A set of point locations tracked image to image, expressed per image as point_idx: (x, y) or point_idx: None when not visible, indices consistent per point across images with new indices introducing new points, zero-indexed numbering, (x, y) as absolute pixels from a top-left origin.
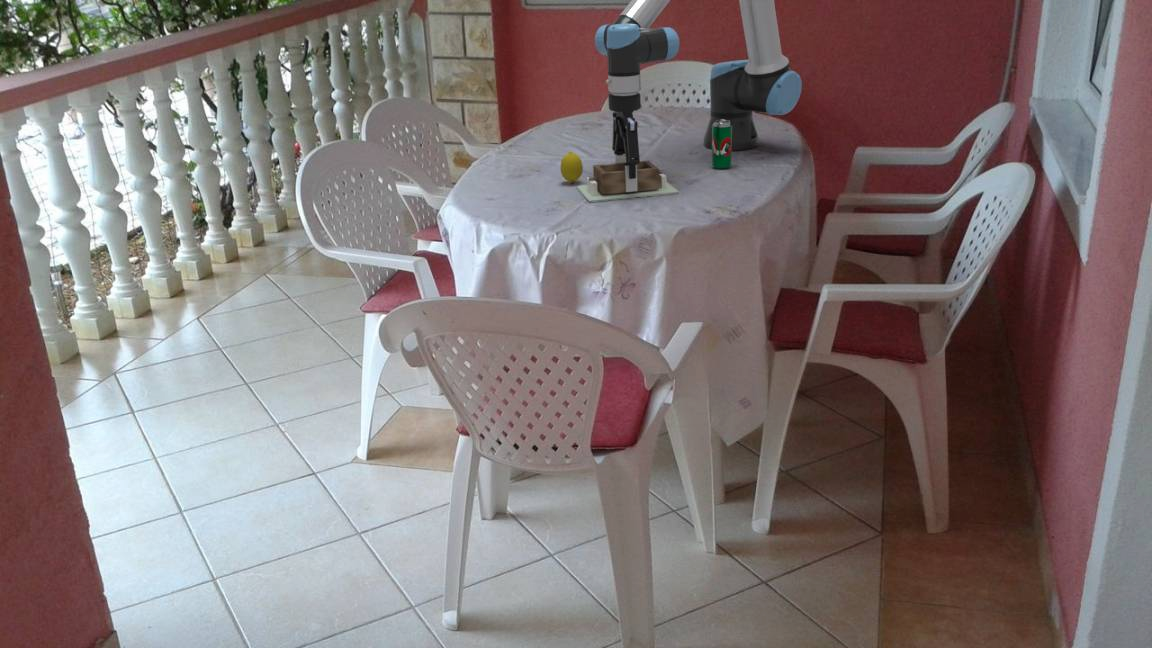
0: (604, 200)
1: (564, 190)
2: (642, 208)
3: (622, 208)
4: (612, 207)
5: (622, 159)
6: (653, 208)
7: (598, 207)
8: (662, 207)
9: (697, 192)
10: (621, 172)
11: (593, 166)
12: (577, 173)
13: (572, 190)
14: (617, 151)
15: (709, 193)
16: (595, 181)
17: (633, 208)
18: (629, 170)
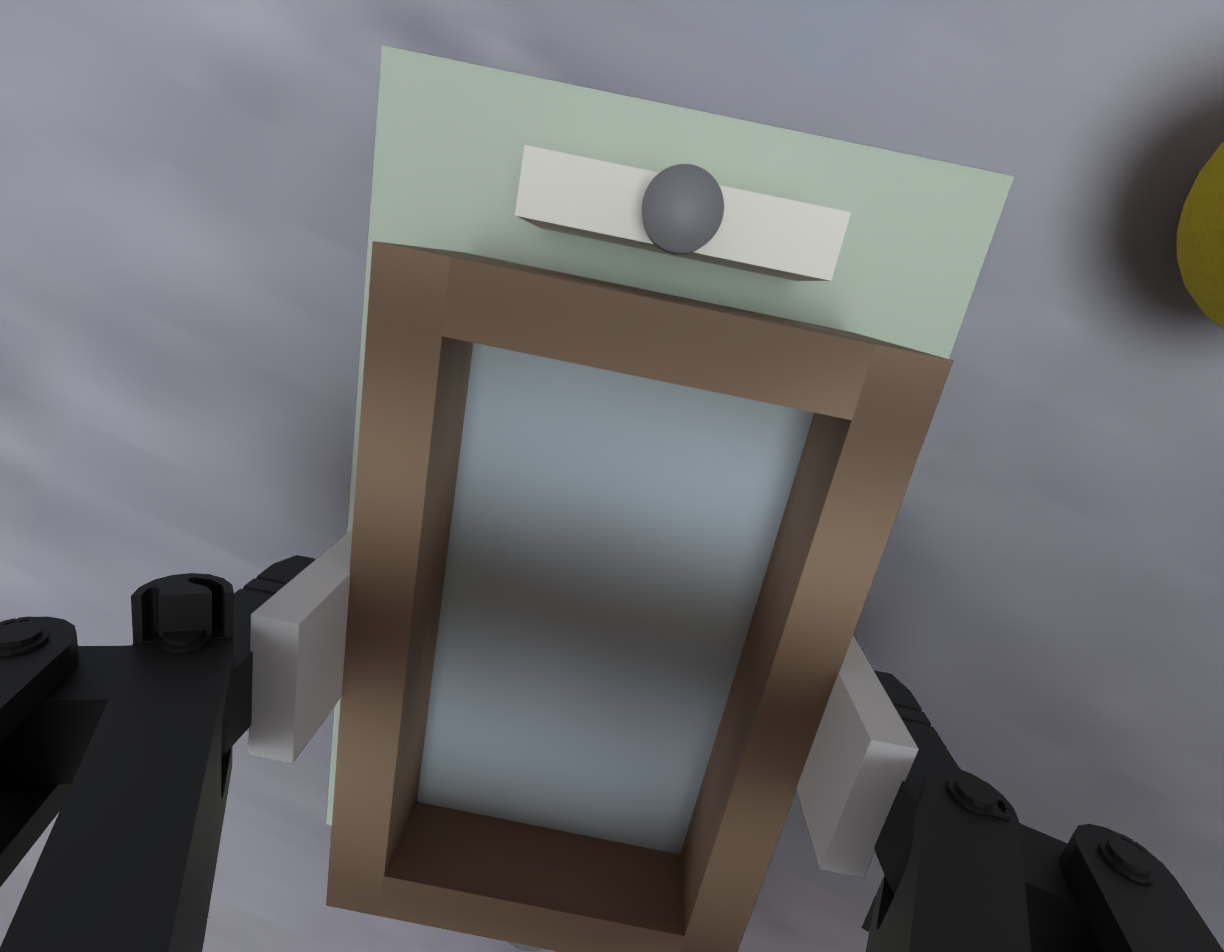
0: (374, 226)
1: (1016, 4)
2: (44, 424)
3: (94, 274)
4: (154, 205)
5: (821, 778)
6: (20, 497)
7: (200, 74)
8: (28, 564)
9: (313, 907)
10: (357, 524)
11: (932, 355)
12: (1204, 236)
13: (951, 96)
14: (915, 831)
15: (259, 944)
16: (595, 229)
17: (65, 359)
18: (257, 607)
